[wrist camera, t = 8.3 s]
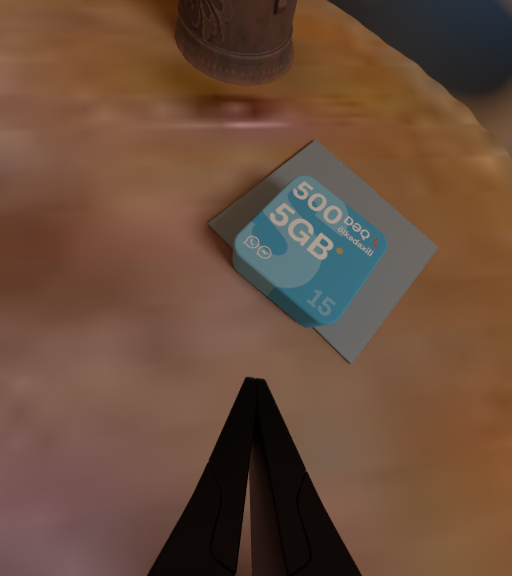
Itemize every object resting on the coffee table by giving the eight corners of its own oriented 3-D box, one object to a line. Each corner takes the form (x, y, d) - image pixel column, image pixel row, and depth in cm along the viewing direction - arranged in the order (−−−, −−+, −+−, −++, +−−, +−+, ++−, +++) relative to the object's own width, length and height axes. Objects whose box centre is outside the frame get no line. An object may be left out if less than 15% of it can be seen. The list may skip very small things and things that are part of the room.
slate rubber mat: (435, 248, 28) (438, 247, 28) (349, 363, 23) (351, 364, 22) (314, 141, 30) (315, 139, 29) (208, 225, 24) (207, 223, 24)
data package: (225, 244, 19) (302, 168, 22) (225, 262, 23) (290, 196, 26) (330, 332, 18) (394, 240, 21) (310, 334, 22) (366, 257, 26)
